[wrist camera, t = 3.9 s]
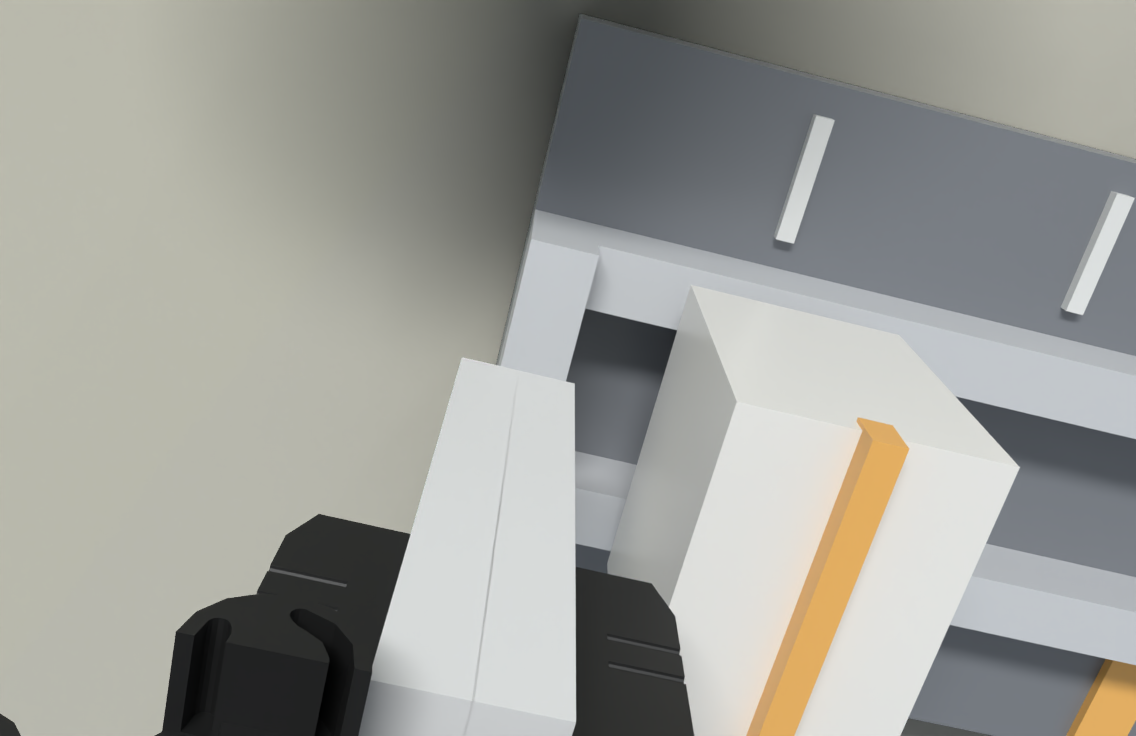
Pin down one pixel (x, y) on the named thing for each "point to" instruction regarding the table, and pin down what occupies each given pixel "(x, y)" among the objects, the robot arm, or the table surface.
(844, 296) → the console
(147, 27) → the table surface
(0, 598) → the table surface
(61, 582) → the table surface
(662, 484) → the fader tab
